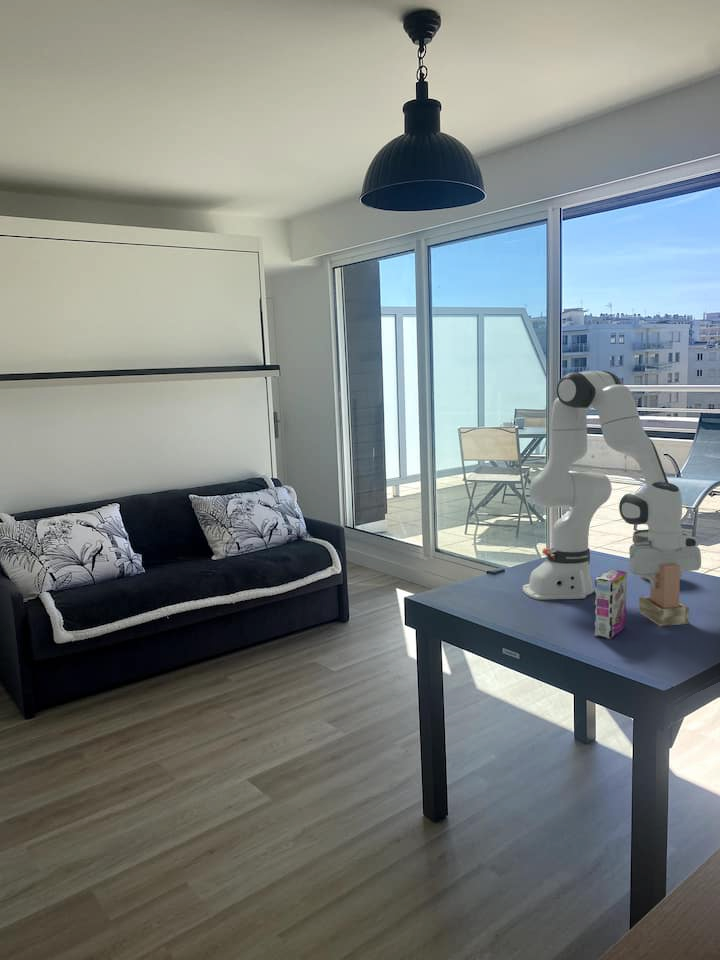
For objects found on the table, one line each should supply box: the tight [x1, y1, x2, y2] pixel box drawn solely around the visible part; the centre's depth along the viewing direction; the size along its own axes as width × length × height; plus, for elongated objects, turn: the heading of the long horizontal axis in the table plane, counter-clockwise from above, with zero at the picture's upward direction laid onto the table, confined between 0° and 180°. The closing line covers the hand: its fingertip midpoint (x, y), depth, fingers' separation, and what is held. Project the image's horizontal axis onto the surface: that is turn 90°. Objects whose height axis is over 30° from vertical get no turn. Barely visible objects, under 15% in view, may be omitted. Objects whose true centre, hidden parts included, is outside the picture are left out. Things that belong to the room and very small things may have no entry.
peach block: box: [649, 563, 681, 608], centre depth 208 cm, size 4×8×12 cm, turn 5°
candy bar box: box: [594, 569, 627, 640], centre depth 200 cm, size 11×5×16 cm, turn 141°
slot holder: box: [638, 595, 690, 627], centre depth 209 cm, size 8×12×5 cm
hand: (664, 587), depth 208 cm, fingers closed on peach block, 4 cm apart
